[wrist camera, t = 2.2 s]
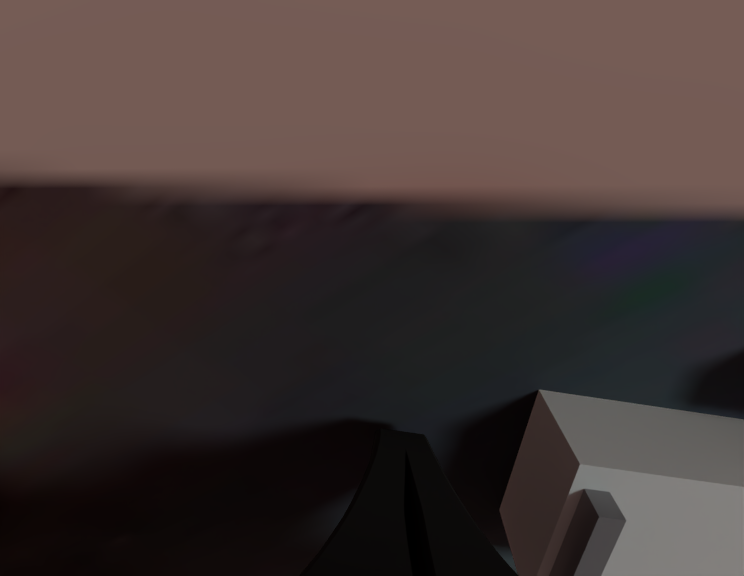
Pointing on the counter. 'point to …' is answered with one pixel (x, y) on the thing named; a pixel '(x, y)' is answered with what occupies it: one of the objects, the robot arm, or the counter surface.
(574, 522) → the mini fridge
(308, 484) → the counter surface
